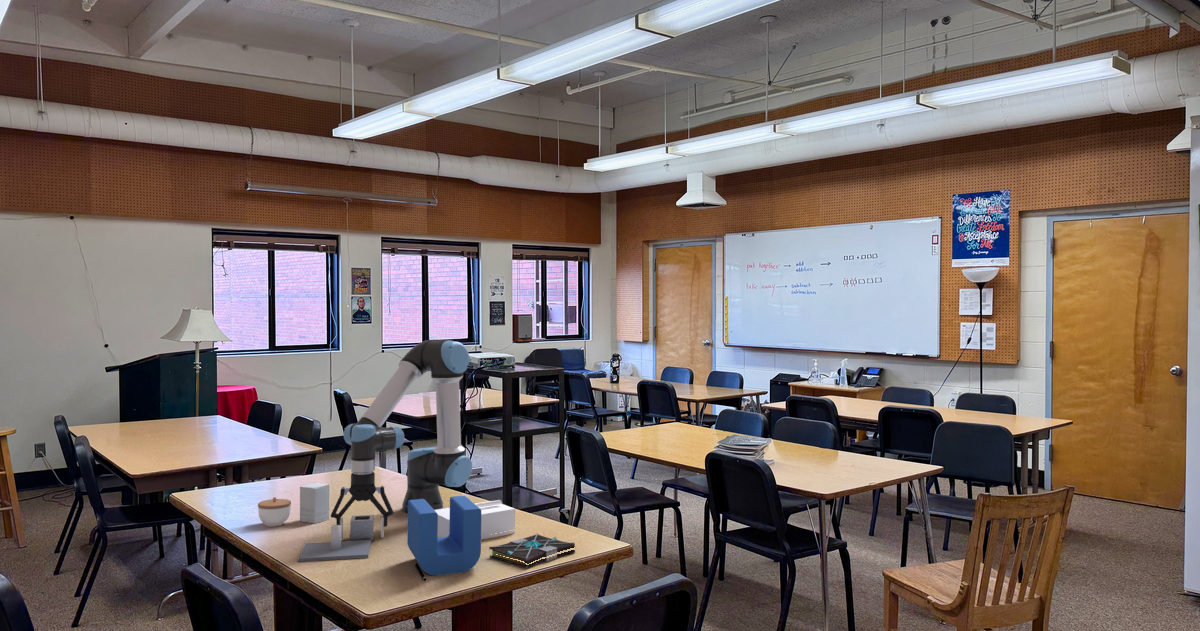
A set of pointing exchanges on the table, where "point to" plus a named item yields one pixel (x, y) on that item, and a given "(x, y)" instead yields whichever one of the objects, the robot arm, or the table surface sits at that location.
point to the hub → (362, 528)
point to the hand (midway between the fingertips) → (361, 537)
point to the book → (531, 550)
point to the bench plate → (335, 554)
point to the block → (445, 551)
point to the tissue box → (484, 519)
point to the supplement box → (314, 503)
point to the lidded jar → (274, 511)
